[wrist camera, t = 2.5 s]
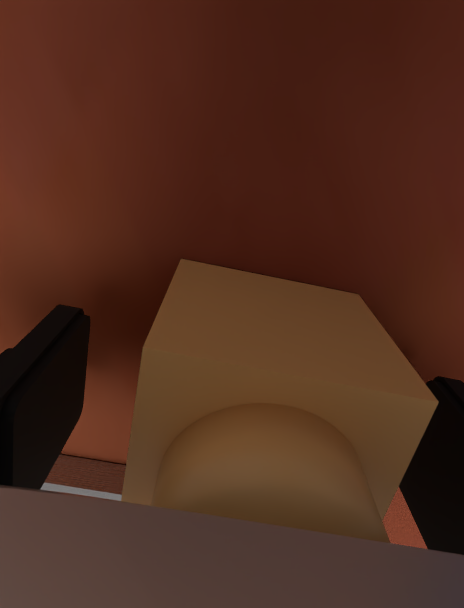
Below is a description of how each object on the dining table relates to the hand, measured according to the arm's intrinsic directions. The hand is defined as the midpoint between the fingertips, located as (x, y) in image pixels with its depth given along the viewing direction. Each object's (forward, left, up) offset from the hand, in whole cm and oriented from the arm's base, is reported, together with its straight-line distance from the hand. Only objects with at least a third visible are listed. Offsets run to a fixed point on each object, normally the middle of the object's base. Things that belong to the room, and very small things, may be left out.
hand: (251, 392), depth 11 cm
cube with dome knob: (0, 0, -2) cm, 2 cm away
